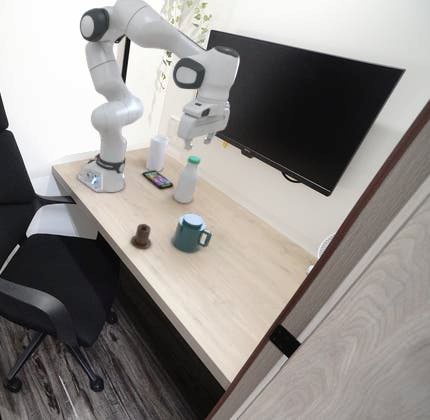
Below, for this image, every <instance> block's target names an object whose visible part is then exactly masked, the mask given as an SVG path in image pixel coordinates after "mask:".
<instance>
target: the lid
mask: <svg viewBox="0 0 430 420" xmlns="http://www.w3.org/2000/svg"><path fill="white" fill-rule="evenodd" d="M151 230H152V229H151V226H149V225H148V224H147V223H140V224H138V225H137V227H136V231H135V235H134V236H132V238H131V242H130V243H131V245H132V246H133V247H135V248H136V249H139V250H146V249H149V248H150V246H151V240H150V235H151Z"/></svg>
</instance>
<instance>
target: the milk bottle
mask: <svg viewBox="0 0 430 420" xmlns="http://www.w3.org/2000/svg"><path fill="white" fill-rule="evenodd" d="M186 162H187V163H186V165H185V166H184V167H183V169H182V170H181V171H180V173H179V175H178V179H177V182H176V186H175V190H174V193H173V199H174V200H175V201H176V202H178V203H181V204H189V203H192V201H193V199H194V195H195V191H196V188H197V186H198V182H199V178H200V172H199V165H200V163H201V158H200V157H199V156H196V155H190V156H188V157H187V161H186Z"/></svg>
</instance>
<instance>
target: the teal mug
mask: <svg viewBox="0 0 430 420" xmlns="http://www.w3.org/2000/svg"><path fill="white" fill-rule="evenodd" d="M206 228H207V223H206V222H205V220H204V219H203V217H201V216H200V215H197V214H196V213H195V214H194V213H187V214H183V215H181V216H180V217H179V218H178V221H177V225H176V227H175V231H174V234H173V238H172V241H171V243H172V245H173V246H174V248H176V249H177V250H179V251H180V252H183V253H189V254H191V253H195V252H196V251H198V249H199V246H200V247H201V248H207V247H208V246H209V244H210V241H211V240H212V237H213V234H212V231H209V230H208V229H206ZM204 235H206V237H205V240H204V242H203V241H202V239H203V236H204Z"/></svg>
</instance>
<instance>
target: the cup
mask: <svg viewBox="0 0 430 420" xmlns="http://www.w3.org/2000/svg"><path fill="white" fill-rule="evenodd" d="M169 141H170V138H169V137H168V136H166V135H163V134H154V135H152V136H151V138H150V143H149V147H148V152H147V158H146V162H145V169H147V170H148V171H153V170H155V171H157V172H161V171H162V170H163V167H164V164H165V163H164V162H165V159H166V153H167V150H168V146H169V143H170V142H169Z"/></svg>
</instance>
